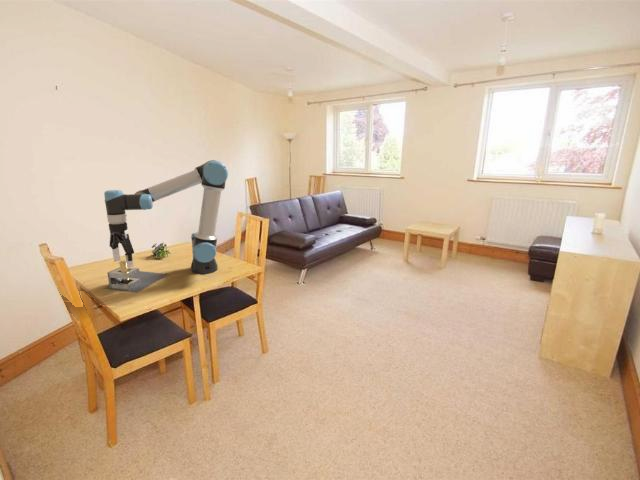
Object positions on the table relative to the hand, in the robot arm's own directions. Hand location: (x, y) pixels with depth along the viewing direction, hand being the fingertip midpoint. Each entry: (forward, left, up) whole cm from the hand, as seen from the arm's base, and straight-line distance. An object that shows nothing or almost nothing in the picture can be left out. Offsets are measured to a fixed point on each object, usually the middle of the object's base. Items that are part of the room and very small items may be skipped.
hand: (123, 263), depth 155 cm
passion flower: (+14, -47, -13) cm, 50 cm away
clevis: (0, 0, -12) cm, 12 cm away
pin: (0, 0, -12) cm, 12 cm away
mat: (-1, -7, -12) cm, 14 cm away
